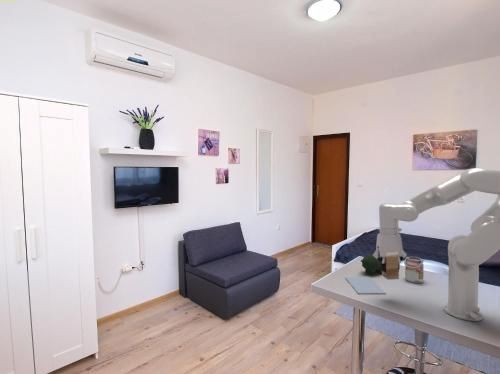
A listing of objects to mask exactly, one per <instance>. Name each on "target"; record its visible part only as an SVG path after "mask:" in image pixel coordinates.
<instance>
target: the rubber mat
mask: <svg viewBox="0 0 500 374" xmlns="http://www.w3.org/2000/svg"><path fill="white" fill-rule="evenodd" d="M344 279H345V280H346V281H347V282H348V283H349V285H350V286H351V287H352V288H353V290H354V291H355V293H356V294H357V295H387V292H386V291H385V290H384V289H382V288H381V287H380V286H379V285H378V284H377V283H376V282H375V281H374V280H373V279H372V278H371V277H370V276H345V277H344Z"/></svg>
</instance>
